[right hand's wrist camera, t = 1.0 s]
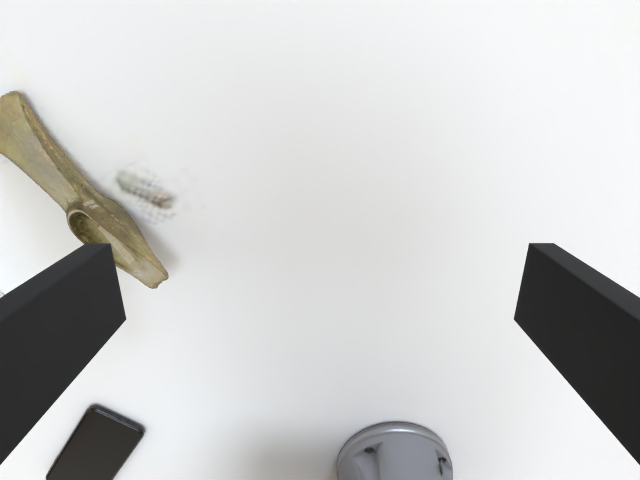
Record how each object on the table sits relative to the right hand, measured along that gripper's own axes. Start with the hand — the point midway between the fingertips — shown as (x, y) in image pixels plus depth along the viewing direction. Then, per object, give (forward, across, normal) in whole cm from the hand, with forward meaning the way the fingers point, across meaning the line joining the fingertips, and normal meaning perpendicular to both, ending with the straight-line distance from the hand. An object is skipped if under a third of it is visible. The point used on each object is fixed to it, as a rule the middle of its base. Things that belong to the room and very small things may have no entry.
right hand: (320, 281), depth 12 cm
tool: (+27, +23, +3) cm, 36 cm away
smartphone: (+28, +30, +40) cm, 57 cm away
